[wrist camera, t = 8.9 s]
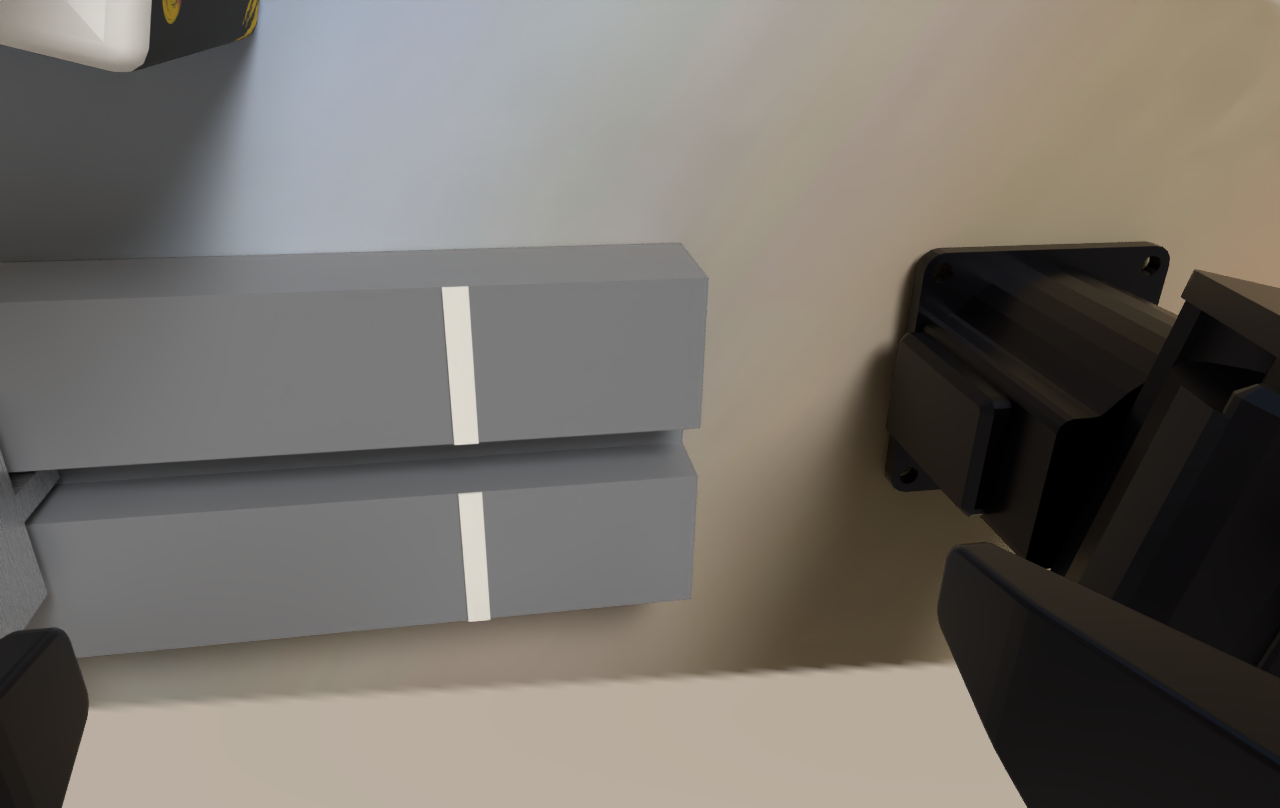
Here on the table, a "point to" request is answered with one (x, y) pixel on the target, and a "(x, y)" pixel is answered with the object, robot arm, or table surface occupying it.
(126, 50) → the medicine bottle
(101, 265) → the slider console
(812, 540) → the table surface
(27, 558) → the fader tab
